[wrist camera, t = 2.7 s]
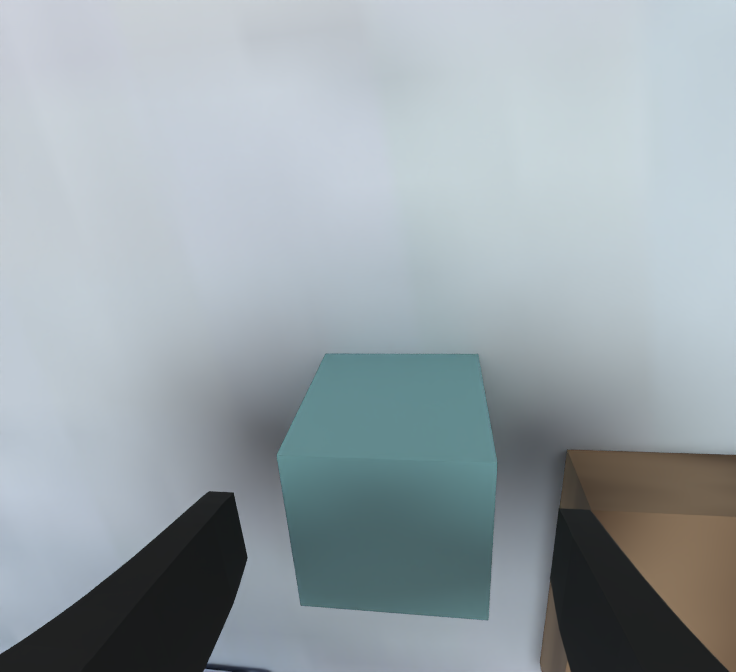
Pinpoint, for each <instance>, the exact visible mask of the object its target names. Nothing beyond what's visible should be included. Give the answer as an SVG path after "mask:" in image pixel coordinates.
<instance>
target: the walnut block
mask: <svg viewBox="0 0 736 672" xmlns="http://www.w3.org/2000/svg"><path fill="white" fill-rule="evenodd" d="M560 508H564V509H585V510H590V511H591V512H592V513H593V514H594V515H595V516H596V517H597V519H598V520H599V521H600V522H601V524H602V525H603V526H604V528H605V529H606V530H607V532H608V533H609V534H610V536H611V537H612V538H613V539H614V541H615V542H616V543H617V545H618V546H619V547H620V548H621V550H622V551H623V552H624V553H625V555H626V556H627V557H628V558H629V560H630V561H631V562H632V563H633V565H634V566H635V567H636V568H637V569H638V571H639V572H640V573H641V574H642V576H643V577H644V578H645V579H646V580H647V582H648V583H649V584H650V585H651V586H652V587H653V588H654V590H655V591H656V592H657V593H658V594H659V595H660V597H661V598H662V599H663V600H664V601H665V602H666V604H667V605H668V606H669V607H670V608H671V609H672V611H673V612H674V613H675V614H676V615H677V616H678V617H679V618H680V619H681V621H682V622H683V623H684V624H685V625H686V626H687V627H688V628H689V629H690V631H691V632H692V633H693V634H694V635H695V636H696V637H697V638H698V639H699V640H700V641H701V642H702V643H703V644H704V645H705V647H706V648H707V649H708V650H709V651H710V652H711V653H712V654H713V655H714V656H715V657H716V658H717V659H718V660H719V661H720V662H721V663H722V664H723V665H724V666H725V667H726V668H727V669H728V671H729V672H736V455H720V454H689V453H658V452H626V451H595V450H567V454H566V462H565V470H564V478H563V486H562V493H561V501H560ZM540 666H541V671H542V672H571V671H570V667H569V664H568V660H567V656H566V653H565V649H564V646H563V642H562V639H561V635H560V631H559V626H558V621H557V615H556V610H555V604H554V598H553V592H552V586H551V580H550V587H549V595H548V603H547V611H546V619H545V626H544V634H543V642H542V650H541V658H540Z"/></svg>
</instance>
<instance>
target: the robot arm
mask: <svg viewBox="0 0 736 672" xmlns="http://www.w3.org/2000/svg"><path fill="white" fill-rule="evenodd" d="M247 558H248V557H247V553H246V548H245V544H244V539H243V534H242V530H241V525H240V520H239V516H238V511H237V506H236V502H235V497H234V493H232V492H211V491H209V492H208V493H206V494H205V495H204V496H203V497H202V498H200V499H199V500H198V501H197V502H196V503H195V504H193V505H192V506H191V507H190V508H189V509H188V510H187V511H185V512H184V513H183V514H182V515H181V516H180V517H179V518H178V519H176V520H175V521H174V522H173V523H172V524H171V525H170V526H168V527H167V528H166V529H165V530H164V531H163V532H162V533H160V534H159V535H158V536H157V537H156V538H155V539H154V540H152V541H151V542H150V543H149V544H148V545H147V546H145V547H144V548H143V549H142V550H141V551H140V552H138V553H137V554H136V555H135V556H134V557H133V558H131V559H130V560H129V561H128V562H126V563H125V564H124V565H123V566H121V567H120V568H119V569H118V570H116V571H115V572H114V573H113V574H111V575H110V576H109V577H108V578H106V579H105V580H104V581H103V582H101V583H100V584H99V585H98V586H96V587H95V588H94V589H93V590H91V591H90V592H89V593H88V594H86V595H85V596H84V597H82V598H81V599H80V600H78V601H77V602H76V603H75V604H73V605H72V606H70V607H69V608H68V609H66V610H65V611H64V612H62V613H61V614H59V615H58V616H57V617H55V618H54V619H52V620H51V621H49V622H48V623H47V624H45V625H44V626H42V627H41V628H39V629H38V630H37V631H35V632H34V633H32V634H31V635H29V636H28V637H26V638H25V639H23V640H22V641H20V642H19V643H17V644H16V645H14V646H13V647H11V648H9V649H8V650H6V651H5V652H3V653H1V654H0V672H230V671H220V670H210V669H205V667H206V665H207V662H208V660H209V658H210V656H211V653H212V651H213V649H214V647H215V645H216V642H217V640H218V638H219V635H220V633H221V631H222V629H223V626H224V624H225V622H226V619H227V617H228V615H229V613H230V610H231V608H232V605H233V603H234V600H235V597H236V594H237V591H238V588H239V585H240V582H241V578H242V575H243V572H244V568H245V565H246V561H247ZM550 580H551V586H552V592H553V598H554V604H555V610H556V615H557V621H558V626H559V631H560V635H561V639H562V642H563V646H564V649H565V653H566V656H567V660H568V664H569V667H570V671H571V672H729V671H728V669H727V668H726V667H725V666H724V665H723V664H722V663H721V662H720V661H719V660H718V659H717V658H716V657H715V656H714V655H713V654H712V653H711V652H710V651H709V650H708V649H707V648H706V647H705V645H704V644H703V643H702V642H701V641H700V640H699V639H698V638H697V637H696V636H695V635H694V634H693V633H692V632H691V631H690V629H689V628H688V627H687V626H686V625H685V624H684V623H683V622H682V621H681V619H680V618H679V617H678V616H677V615H676V614H675V613H674V612H673V611H672V609H671V608H670V607H669V606H668V605H667V604H666V602H665V601H664V600H663V599H662V598H661V597H660V595H659V594H658V593H657V592H656V591H655V590H654V588H653V587H652V586H651V585H650V584H649V583H648V582H647V580H646V579H645V578H644V577H643V576H642V574H641V573H640V572H639V571H638V569H637V568H636V567H635V566H634V565H633V563H632V562H631V561H630V560H629V558H628V557H627V556H626V555H625V553H624V552H623V551H622V550H621V548H620V547H619V546H618V545H617V543H616V542H615V541H614V539H613V538H612V537H611V536H610V534H609V533H608V532H607V530H606V529H605V528H604V526H603V525H602V524H601V522H600V521H599V520H598V519H597V517H596V516H595V515H594V514H593V513H592V512H591V511H590V510H585V509H564V508H559V512H558V520H557V528H556V536H555V544H554V552H553V560H552V568H551V576H550Z"/></svg>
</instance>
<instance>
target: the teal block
mask: <svg viewBox="0 0 736 672" xmlns="http://www.w3.org/2000/svg"><path fill="white" fill-rule="evenodd" d="M277 462H278V468H279V474H280V480H281V486H282V492H283V499H284V505H285V511H286V517H287V523H288V530H289V536H290V542H291V548H292V554H293V561H294V567H295V573H296V579H297V585H298V592H299V598H300V604H301V606H313V607H325V608H338V609H351V610H363V611H376V612H389V613H401V614H414V615H427V616H439V617H452V618H465V619H477V620H488V618H489V600H490V583H491V565H492V548H493V530H494V513H495V495H496V478H497V458H496V453H495V447H494V441H493V436H492V430H491V424H490V419H489V413H488V407H487V402H486V396H485V390H484V385H483V379H482V373H481V368H480V362H479V356H478V354H325V356H324V358H323V360H322V362H321V364H320V366H319V369H318V371H317V373H316V375H315V377H314V379H313V381H312V383H311V385H310V387H309V389H308V391H307V393H306V395H305V397H304V400H303V402H302V404H301V406H300V408H299V410H298V412H297V414H296V416H295V418H294V420H293V422H292V424H291V426H290V429H289V431H288V433H287V435H286V437H285V439H284V441H283V443H282V445H281V447H280V449H279V451H278V453H277Z"/></svg>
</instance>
